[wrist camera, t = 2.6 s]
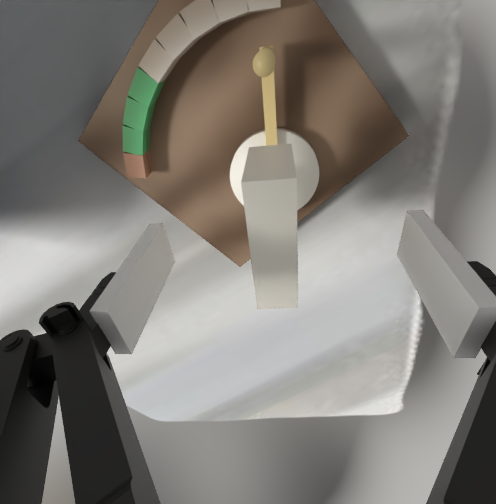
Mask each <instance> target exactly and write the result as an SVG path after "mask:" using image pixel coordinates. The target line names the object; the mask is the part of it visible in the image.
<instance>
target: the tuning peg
mask: <svg viewBox="0 0 496 504" xmlns="http://www.w3.org/2000/svg"><path fill="white" fill-rule="evenodd" d="M259 49H260V51H259V52H258V53H257V54H256V55H255V57H254V59H253V70H254V72H255V73H256V74H257V75H258V76H260V77H261V78H262V92H263V107H264V121H265V129H264V130H260V131H258V132H256V133H254V134H252V135H250V136H249V137H248V138H247V139H245V140H244V141H243V142H242V143H241V145H240V146H239V147H238V149H237V151H236V153H235V155H234V157H233V160H232V163H231V168H230V183H231V187H232V190H233V192H234V194H235V196H236V198H237V199H238V200H239V202H240V203H241V204H242V205H243V206H244V209H245V217H246V225H247V233H248V240H249V248H250V256H251V264H252V271H253V279H254V287H255V295H256V302H257V309H267V308H298V252H297V210H299V209H300V208H302V207H303V206H304V205H305V204H306V203H307V202H308V201H309V200H310V199H311V197H312V196H313V194H314V192H315V190H316V188H317V185H318V181H319V165H318V161H317V158H316V155H315V153H314V151H313V149H312V147H311V146H310V144H309V143H308V142H307V141H306V140H305V139H304V138H303V137H302V136H300V135H299V134H297V133H295V132H293V131H291V130H288V129H284V128H277V124H276V103H275V82H274V68H275V53H274V51H273V46H266V47H260V48H259Z"/></svg>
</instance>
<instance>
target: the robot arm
mask: <svg viewBox="0 0 496 504" xmlns="http://www.w3.org/2000/svg"><path fill="white" fill-rule="evenodd" d="M397 255H398V257H399V259H400V261H401V263H402V265H403V266H404V268H405V270H406V272H407V274H408V276H409V277H410V279H411V281H412V283H413V285H414V287H415V288H416V290H417V292H418V294H419V296H420V297H421V299H422V301H423V303H424V305H425V306H426V308H427V310H428V312H429V314H430V316H431V317H432V319H433V321H434V323H435V325H436V327H437V329H438V330H439V332H440V334H441V336H442V338H443V340H444V341H445V343H446V345H447V347H448V349H449V350H450V352H451V354H452V356H453V357H454V358H476V356H477V354H478V353H479V351H480V349H481V348H482V350H483V351H484V353H485V354H486V356H487V359H486V360H485V362H484V364H483V365H482V367H481V368H480V370H479V372H478V373H477V374H478V375H479V376H478V379H477V382H476V384H475V386H474V389H473V391H472V393H471V396H470V399H469V401H468V403H467V406H466V408H465V410H464V413H463V415H462V418H461V420H460V423H459V425H458V428H457V430H456V432H455V435H454V437H453V440H452V442H451V445H450V447H449V450H448V452H447V454H446V457H445V459H444V462H443V464H442V467H441V469H440V471H439V474H438V476H437V479H436V481H435V484H434V486H433V488H432V491H431V493H430V496H429V498H428V501H427V503H426V504H496V276H495V274H494V273H493V272H492V271H491V270H490V269H489V268H487V267H485V266H484V265H482V264H481V263H479V262H477V261H472V262H466V260H465V259H464V258H463V257H462V256H461V254H460V253H459V252H458V251H457V250H456V248H455V247H454V246H453V245H452V244H451V243H450V242H449V240H448V239H447V238H446V237H445V236H444V235H443V233H442V232H441V231H440V229H439V228H438V227H437V226H436V225H435V223H434V222H433V221H432V220H431V219H430V218H429V216H428V215H427V214H426V213H425V212H424V210H416V211H407V214H406V218H405V222H404V226H403V231H402V235H401V239H400V243H399V247H398V252H397ZM174 263H175V260H174V257H173V254H172V251H171V248H170V244H169V241H168V238H167V235H166V232H165V229H164V226H163V223H162V224H150V225H149V226H148V228H147V229H146V231H145V232H144V234H143V235H142V236H141V238H140V239H139V241H138V242H137V244H136V245H135V246H134V248H133V249H132V251H131V252H130V254H129V255H128V256H127V258H126V259H125V261H124V262H123V264H122V265H121V267H120V268H119V269H118V271H117V272H111V273H110V274H108V275H107V276H106V277H105V278H103V279H102V280H101V282H100V283H99V284H98V286H97V287H96V289H95V290H94V291H93V292H92V295H90V296H89V298H88V299H87V301H86V302H85V303H84V305H83V306H82V307H81V309H80V310H78V309H77V307H76V306H75V305H74V303H71V302H63V303H60V304H57V305H55V306H53V307H51V308H49V309H48V310H47V311H46V312H45V313H43V315H42V316H41V318H40V320H39V324H40V325H41V326H42V327H43V329H44V330H45V331H46V332H47V333H45V334H42V335H38V336H33V335H32V334H31V333H30V332H29V331H28V330H18V331H15V332H13V333H10V334H8V335H7V336H5V337H4V338H2V339H1V340H0V504H41V503H42V496H43V490H44V484H45V478H46V472H47V465H48V459H49V453H50V447H51V440H52V434H53V428H54V422H55V415H56V409H57V403H58V396H59V399H60V406H61V412H62V418H63V425H64V432H65V438H66V445H67V451H68V457H69V464H70V470H71V477H72V484H73V490H74V497H75V503H76V504H160V501H159V498H158V495H157V492H156V489H155V486H154V484H153V481H152V478H151V475H150V473H149V469H148V467H147V464H146V461H145V458H144V455H143V452H142V450H141V447H140V444H139V441H138V438H137V435H136V433H135V430H134V427H133V424H132V421H131V419H130V415H129V413H128V410H127V407H126V404H125V401H124V398H123V395H122V393H121V390H120V387H119V384H118V381H117V378H116V376H115V373H114V370H113V367H112V364H111V361H110V359H109V357H108V355H107V351H108V349H109V348H110V346H111V347H112V349H113V350H114V352H115V354H132V352H133V350H134V348H135V346H136V344H137V342H138V339H139V337H140V335H141V333H142V331H143V329H144V327H145V325H146V322H147V320H148V318H149V316H150V314H151V312H152V310H153V307H154V305H155V303H156V301H157V299H158V297H159V295H160V292H161V290H162V288H163V286H164V284H165V282H166V280H167V277H168V275H169V273H170V271H171V269H172V267H173V265H174Z"/></svg>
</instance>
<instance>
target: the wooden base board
mask: <svg viewBox="0 0 496 504" xmlns="http://www.w3.org/2000/svg"><path fill="white" fill-rule="evenodd" d="M266 46H273V51H274V53H275V68H274V82H275V103H276V124H277V128H284V129H288V130H291V131H293V132H295V133H297V134H299V135H300V136H302V137H303V138H304V139H305V140H306V141H307V142H308V143H309V144H310V146H311V147H312V149H313V151H314V153H315V155H316V158H317V161H318V165H319V181H318V185H317V188H316V190H315V192H314V194H313V196H312V197H311V199H310V200H309V201H308V202H307V203H306V204H305V205H304V206H303V207H302V208H300V209H299V210H297V222H299V221H300V220H301V219H303V218H304V217H305V216H306V215H308V214H309V213H310V212H312V211H313V210H314V209H315V208H317V207H318V206H319V205H321V204H322V203H323V202H324V201H326V200H327V199H328V198H330V197H331V196H332V195H334V194H335V193H336V192H337V191H339V190H340V189H341V188H343V187H344V186H345V185H346V184H348V183H349V182H350V181H352V180H353V179H354V178H355V177H357V176H358V175H359V174H361V173H362V172H363V171H364V170H366V169H367V168H368V167H370V166H371V165H372V164H374V163H375V162H376V161H377V160H379V159H380V158H381V157H383V156H384V155H385V154H386V153H388V152H389V151H390V150H392V149H393V148H394V147H395V146H397V145H398V144H399V143H401V142H402V141H403V140H404V139H406V138H407V137H408V136H409V135H408V133H407V132H406V131H405V129H404V128H403V126H402V125H401V123H400V122H399V121H398V119H397V118H396V116H395V115H394V113H393V112H392V111H391V109H390V108H389V106H388V105H387V103H386V102H385V101H384V99H383V98H382V96H381V95H380V93H379V92H378V90H377V89H376V88H375V86H374V85H373V83H372V82H371V80H370V79H369V78H368V76H367V75H366V73H365V72H364V70H363V69H362V68H361V66H360V65H359V63H358V62H357V60H356V59H355V58H354V56H353V55H352V53H351V52H350V50H349V49H348V48H347V46H346V45H345V43H344V42H343V40H342V39H341V37H340V36H339V35H338V33H337V32H336V30H335V29H334V27H333V26H332V25H331V23H330V22H329V20H328V19H327V17H326V16H325V15H324V13H323V12H322V10H321V9H320V7H319V6H318V5H317V3H316V2H315V0H158V1H157V3H156V5H155V6H154V8H153V10H152V12H151V14H150V15H149V17H148V19H147V21H146V22H145V24H144V26H143V28H142V29H141V31H140V33H139V35H138V36H137V38H136V40H135V42H134V43H133V45H132V47H131V49H130V50H129V52H128V54H127V56H126V57H125V59H124V61H123V63H122V65H121V66H120V68H119V70H118V72H117V73H116V75H115V77H114V79H113V80H112V82H111V84H110V86H109V87H108V89H107V91H106V93H105V94H104V96H103V98H102V100H101V101H100V103H99V105H98V107H97V109H96V110H95V112H94V114H93V116H92V117H91V119H90V121H89V123H88V124H87V126H86V128H85V130H84V131H83V133H82V135H81V137H80V138H79V140H78V141H79V142H80V143H81V144H83V145H84V146H85V147H86V148H88V149H89V150H90V151H92V152H93V153H94V154H95V155H97V156H98V157H99V158H101V159H102V160H103V161H104V162H106V163H107V164H108V165H110V166H111V167H112V168H113V169H115V170H116V171H117V172H119V173H120V174H121V175H122V176H124V177H125V178H126V179H128V180H129V181H130V182H131V183H133V184H134V185H135V186H137V187H138V188H139V189H140V190H142V191H143V192H144V193H146V194H147V195H148V196H149V197H151V198H152V199H153V200H155V201H156V202H157V203H158V204H160V205H161V206H162V207H164V208H165V209H166V210H167V211H169V212H170V213H171V214H173V215H174V216H175V217H176V218H178V219H179V220H180V221H182V222H183V223H184V224H185V225H187V226H188V227H189V228H191V229H192V230H193V231H194V232H196V233H197V234H198V235H200V236H201V237H202V238H203V239H205V240H206V241H207V242H209V243H210V244H211V245H212V246H214V247H215V248H216V249H218V250H219V251H220V252H221V253H223V254H224V255H225V256H227V257H228V258H229V259H230V260H232V261H233V262H234V263H236V264H237V265H238V266H239V267H241V266H242V265H243V264H244V263H246V262H247V261H248V260H250V259H251V256H250V248H249V240H248V233H247V225H246V217H245V209H244V206H243V205H242V204H241V203H240V202H239V200H238V199H237V198H236V196H235V194H234V192H233V190H232V187H231V183H230V168H231V163H232V160H233V157H234V155H235V153H236V151H237V149H238V147H239V146H240V145H241V143H242V142H243V141H244V140H245V139H247V138H248V137H249V136H250V135H252V134H254V133H256V132H258V131H260V130H264V129H265V121H264V107H263V92H262V78H261V77H260V76H258V75H257V74H256V73H255V72H254V70H253V59H254V57H255V55H256V54H257V53H258V52H259V51H260V49H259V48H260V47H266Z"/></svg>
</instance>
